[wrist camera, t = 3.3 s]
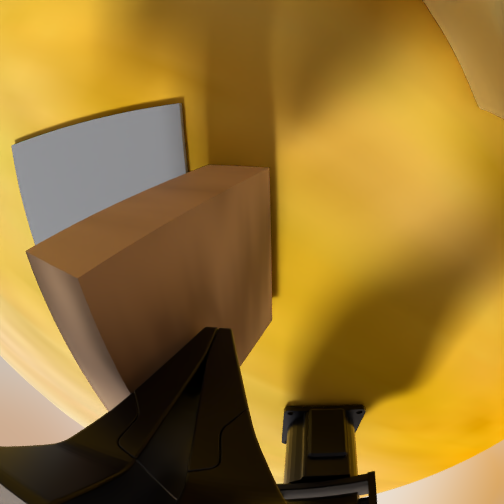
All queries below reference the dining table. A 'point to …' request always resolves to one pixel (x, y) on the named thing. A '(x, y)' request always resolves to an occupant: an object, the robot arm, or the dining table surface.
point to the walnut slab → (161, 274)
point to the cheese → (476, 45)
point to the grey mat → (97, 165)
